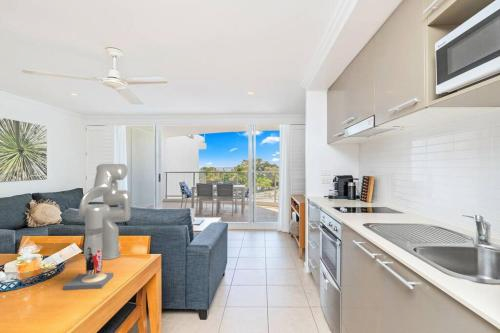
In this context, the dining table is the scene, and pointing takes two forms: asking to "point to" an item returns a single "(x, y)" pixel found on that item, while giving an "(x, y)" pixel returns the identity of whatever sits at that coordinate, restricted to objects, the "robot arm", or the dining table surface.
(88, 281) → the serving board
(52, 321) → the dining table surface
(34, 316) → the dining table surface
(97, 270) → the soda can
